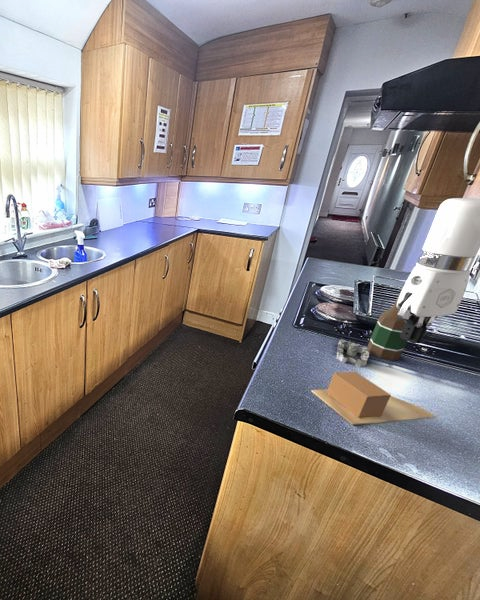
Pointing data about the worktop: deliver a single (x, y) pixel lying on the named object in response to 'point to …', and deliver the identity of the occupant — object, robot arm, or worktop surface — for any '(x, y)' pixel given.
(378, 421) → the board
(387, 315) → the beer bottle
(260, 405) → the worktop surface
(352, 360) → the egg carton
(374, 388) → the box
